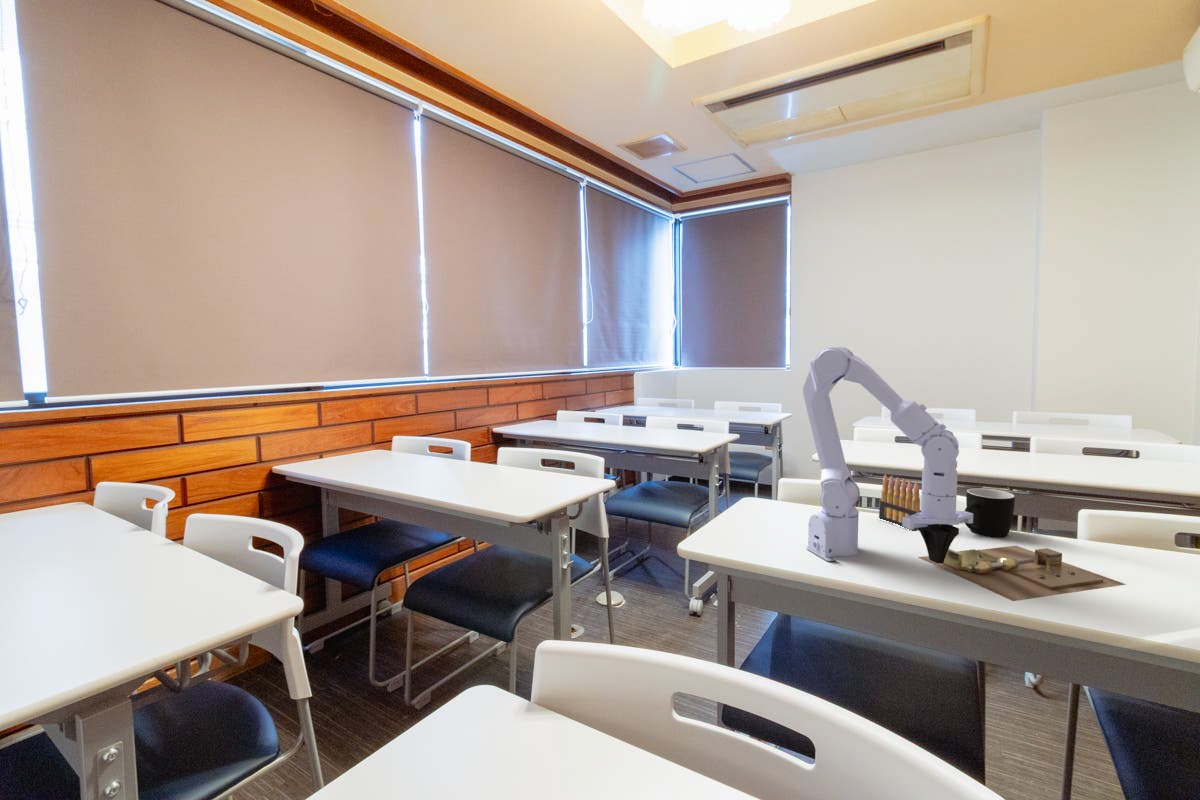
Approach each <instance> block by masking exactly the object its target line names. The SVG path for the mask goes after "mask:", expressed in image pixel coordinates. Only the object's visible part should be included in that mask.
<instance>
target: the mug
mask: <svg viewBox="0 0 1200 800" xmlns="http://www.w3.org/2000/svg"><path fill="white" fill-rule="evenodd" d="M965 494H966V498H965V499H966V507H965V509H964V511H966V512H969V513H972V514H973V523H970V524H969V523H964V525H965V526H966V527H967V528H968V529H969V531H970V532H971V533H972V534H974V535H978V536H982V537H987V538H992V539H993V538H994V539H1004V538H1007V537H1008V536H1009V534H1010V530H1011V527H1012V523H1013V519H1014V512H1015V504H1016V502H1015V501H1016V500H1015V499H1016V497H1015V494H1013V493H1010V492H1009V491H1004V490H999V489H993V488H982V487H980V488H977V487H976V488H969V489H967V490H966V493H965Z"/></svg>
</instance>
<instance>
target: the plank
mask: <svg viewBox="0 0 1200 800" xmlns="http://www.w3.org/2000/svg"><path fill="white" fill-rule="evenodd" d="M976 550H977V551H980V552H982V553H985V554H988V555H990V556H993V557H995V558H998V559H999V558H1007V557H1014V558H1015V559H1016V560H1020V559H1028V558H1032V559H1033V560H1035V551H1032V550H1029V549H1027V548H1025V547H1022V546H1018V545H1011V546H1010V545H1009V546H1008V545H1007V546H1001V547H999V546H998V547H992V548H984V549H976ZM918 558H919V559H921V560H923V561H925V562H928V563H930V564H932V565H933V566H937V568H941V569H943V570H944V571H947V572H949V573H951V574H954V575H955V576H958V577H960V578H962V579H965V580H966V581H969V582H971V583H972V584H976V585H977V586H979V587H982V588H984V589H986V590H988V591H990V592H992V593H994V594H997V595H999V596H1001V597H1004V598H1005V599H1009V600H1010V601H1012V602H1014V601H1022V600H1030V599H1036V598H1042V597H1043V598H1044V597H1049V596H1055V595H1062V594H1068V593H1075V592H1076V593H1077V592H1083V591H1089V590H1090V591H1092V590H1096V589H1097V590H1099V589H1103V588H1110V587H1116V586H1117V587H1118V586H1125V585H1126V583H1123V582H1121V581H1119V580H1115V579H1112V578H1109V577H1106V576H1104V575H1101V574H1097V573H1095V572H1093V571H1089V570H1086V569H1084V568H1081V567H1078V566H1075V565H1073V564H1069V563H1067V562H1064V561H1062V565H1065V566H1068V567H1070V568H1073V569H1076V570H1079V571H1082V572H1084V573H1087V574H1090V575H1093V576H1096V577H1098V578H1101V579H1103V583H1097V584H1090V585H1083V586H1076V587H1069V588H1062V589H1055V590H1049V589H1047V588H1044V587H1042V586H1039V585H1037V584H1035V583H1032V582H1030V581H1027V580H1025V579H1022V578H1020V577H1017V576H1015V575H1013V574H1012V571H1017V570H1024V569H1032V568H1040V567H1046V564H1038V565H1037V564H1034V563H1028V564H1021V565H1019V566H1018V568H1017V569H1011V570H1001V569H1000V568H998V569H993V570H992V571H991V572H988V573H980V574H977V573H975V572H970V571H967V570H962V569H960V570H958V569H956V568H953V567H951V566H949V565H947V564H944V563H936V562H933V561H931V560H930V559H929V555H925V556H918Z"/></svg>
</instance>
